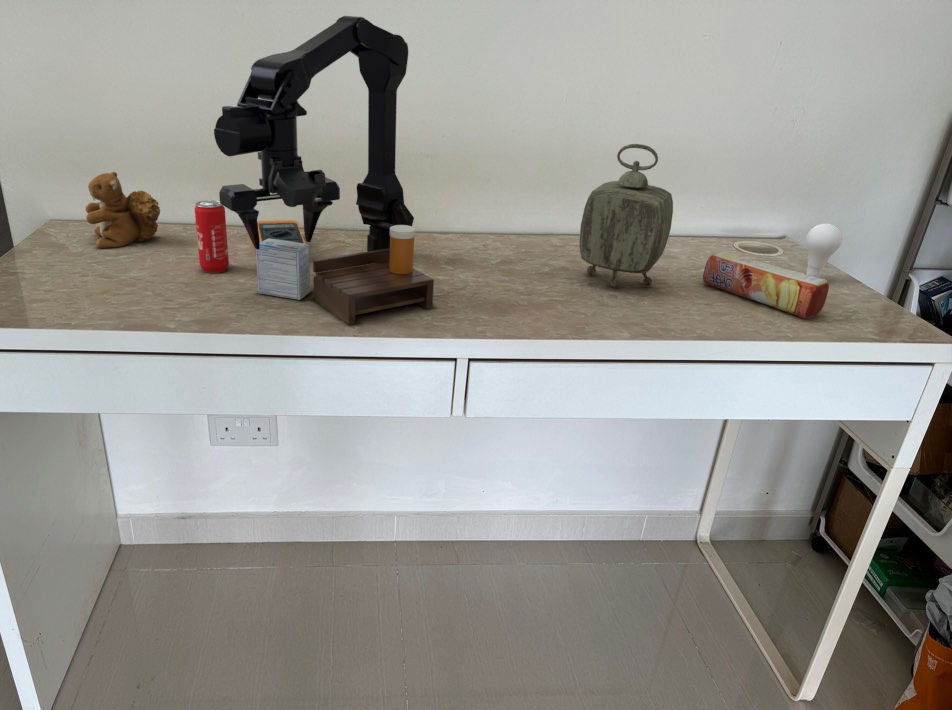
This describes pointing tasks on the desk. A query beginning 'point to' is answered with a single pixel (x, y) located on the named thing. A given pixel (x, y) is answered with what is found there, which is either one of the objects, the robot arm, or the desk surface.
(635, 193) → the tabletop clock
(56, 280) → the desk surface
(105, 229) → the stuffed squirrel
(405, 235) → the pill bottle
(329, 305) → the rack
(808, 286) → the snack package
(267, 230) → the multimeter
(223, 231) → the red soda can
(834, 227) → the lightbulb
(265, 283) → the medicine box
